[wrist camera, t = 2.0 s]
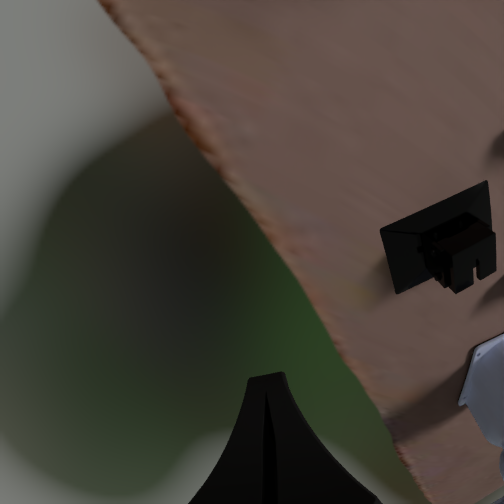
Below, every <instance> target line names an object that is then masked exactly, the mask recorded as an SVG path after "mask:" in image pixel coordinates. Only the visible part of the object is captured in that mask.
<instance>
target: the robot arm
mask: <svg viewBox="0 0 504 504" xmlns="http://www.w3.org/2000/svg"><path fill="white" fill-rule="evenodd" d="M464 404H466V405H467V406H468V408H469V410H470V411H471V413H472V415H473V417H474V418H475V420H476V422H477V424H478V426H479V427H480V429H481V431H482V433H483V435H484V436H485V438H486V439H487V440H488V441H489V442H490V443H491V444H493V445H495V446H498V447H502V448H503V451H502V452H501V455H500V463H499V468H500V473H501V476H502V478H503V480H504V334H502V335H500V336H498V337H496V338H494V339H491V340H489V341H487V342H485V343H483V344H481V345H479V346H477V347H476V348H475V350H474V353H473V356H472V360H471V364H470V367H469V370H468V374H467V377H466V380H465V383H464V386H463V389H462V392H461V395H460V398H459V401H458V405H459V406H461V405H464ZM188 504H382V503H381V501H380V500H379V499H378V498H377V496H376V495H374V494H373V493H372V492H371V491H369V490H368V489H367V488H366V487H364V486H363V485H362V484H361V483H360V482H358V481H357V480H356V479H355V478H354V477H353V476H352V475H351V474H350V473H349V472H348V471H347V470H346V469H345V468H344V467H343V466H342V465H341V464H340V463H339V462H338V461H337V460H336V459H335V458H334V457H333V456H332V454H331V453H330V452H329V451H328V450H327V449H326V447H325V446H324V445H323V444H322V443H321V441H320V440H319V439H318V437H317V436H316V435H315V433H314V432H313V430H312V429H311V427H310V426H309V425H308V423H307V421H306V420H305V418H304V417H303V415H302V413H301V411H300V410H299V408H298V406H297V404H296V402H295V400H294V398H293V396H292V394H291V392H290V389H289V387H288V383H287V379H286V376H285V373H284V372H277V373H272V374H267V375H262V376H256V377H251V378H249V379H248V383H247V387H246V392H245V396H244V400H243V403H242V406H241V409H240V412H239V415H238V418H237V421H236V424H235V426H234V429H233V431H232V434H231V436H230V438H229V441H228V443H227V445H226V447H225V449H224V451H223V453H222V455H221V457H220V459H219V461H218V462H217V464H216V466H215V467H214V469H213V471H212V472H211V474H210V475H209V477H208V479H207V480H206V481H205V483H204V484H203V486H202V487H201V488H200V489H199V491H198V492H197V493H196V495H195V496H194V497H193V498H192V500H191V501H190V502H189V503H188ZM491 504H504V496H503V497H502V498H500V499H498V500H497V501H495V502H493V503H491Z"/></svg>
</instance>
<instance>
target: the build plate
mask: <svg viewBox="0 0 504 504" xmlns="http://www.w3.org/2000/svg"><path fill="white" fill-rule="evenodd" d="M380 235H381V238H382V242H383V245H384V249H385V253H386V256H387V260H388V264H389V268H390V272H391V276H392V280H393V284H394V288H395V293H396V294H399V293H401V292H404V291H406V290H408V289H410V288H412V287H414V286H416V285H418V284H420V283H423V282H425V281H427V280H429V279H431V278H433V277H434V278H435V280H436V281H438V282H439V283H440V284H441V285H442V286H443V287H444V288H446V287H449V288H450V289H451V290H452V291H453V292H454V293H455V294H457V293H459V292H461V291H462V290H464V289H466V288H468V287H470V286H471V285H473V284H474V280H473V268H475V267H476V274H477V278H478V279H479V280H482V279H484V278H485V277H487V276H489V275H490V274H492V273H494V272H495V271H496V233H495V232H493V231H492V219H491V207H490V196H489V187H488V181H487V180H485V181H483V182H481V183H479V184H477V185H475V186H473V187H471V188H468V189H466V190H464V191H462V192H460V193H458V194H456V195H453V196H451V197H449V198H447V199H445V200H443V201H440V202H438V203H436V204H434V205H432V206H429V207H427V208H425V209H423V210H421V211H418V212H416V213H414V214H412V215H410V216H407V217H405V218H403V219H401V220H398V221H396V222H394V223H392V224H389V225H387V226H385V227H383V228H381V229H380Z"/></svg>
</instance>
